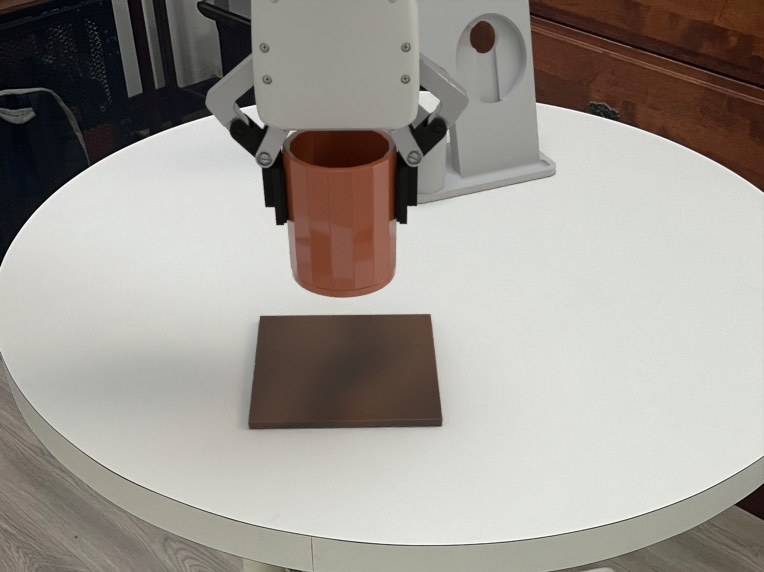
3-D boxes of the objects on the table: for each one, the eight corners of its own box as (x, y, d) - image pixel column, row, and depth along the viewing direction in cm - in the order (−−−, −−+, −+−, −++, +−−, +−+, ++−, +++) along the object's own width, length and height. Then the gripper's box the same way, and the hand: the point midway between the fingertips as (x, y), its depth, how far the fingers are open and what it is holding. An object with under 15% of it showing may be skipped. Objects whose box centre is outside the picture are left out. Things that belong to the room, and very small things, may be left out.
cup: (289, 298, 68) (279, 171, 62) (293, 245, 73) (284, 122, 67) (397, 297, 68) (398, 170, 62) (393, 244, 73) (394, 122, 67)
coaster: (248, 428, 72) (247, 422, 71) (260, 321, 81) (259, 315, 81) (442, 426, 72) (442, 419, 72) (430, 319, 82) (430, 313, 82)
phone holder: (408, 206, 96) (411, 3, 83) (364, 164, 102) (362, -30, 90) (560, 173, 102) (585, -21, 89) (510, 135, 108) (527, -51, 95)
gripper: (480, -99, 58) (464, 189, 71) (181, -100, 58) (218, 191, 70) (494, -63, 53) (473, 241, 65) (165, -64, 52) (208, 244, 65)
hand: (341, 213), depth 68 cm, fingers closed on cup, 7 cm apart
